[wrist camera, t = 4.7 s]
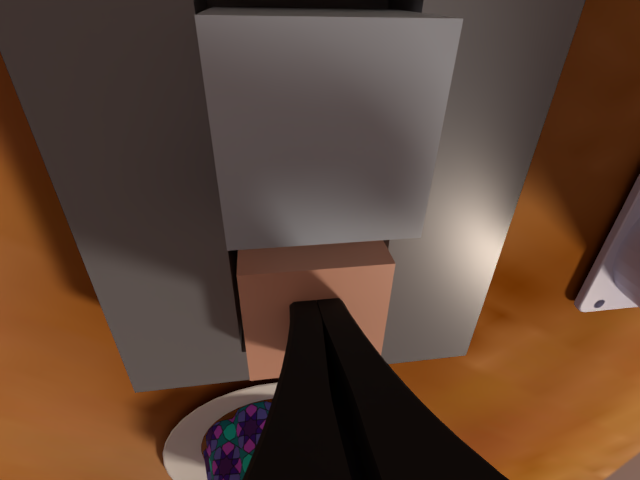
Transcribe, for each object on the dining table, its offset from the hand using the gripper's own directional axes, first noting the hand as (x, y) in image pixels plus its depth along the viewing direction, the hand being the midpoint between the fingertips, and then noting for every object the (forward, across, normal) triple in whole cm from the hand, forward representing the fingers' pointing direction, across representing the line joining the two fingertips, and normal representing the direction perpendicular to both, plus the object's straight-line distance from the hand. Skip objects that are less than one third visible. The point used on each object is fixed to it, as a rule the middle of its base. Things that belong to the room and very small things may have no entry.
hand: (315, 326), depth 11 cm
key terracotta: (+3, 0, 0) cm, 3 cm away
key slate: (+2, 0, -6) cm, 6 cm away
